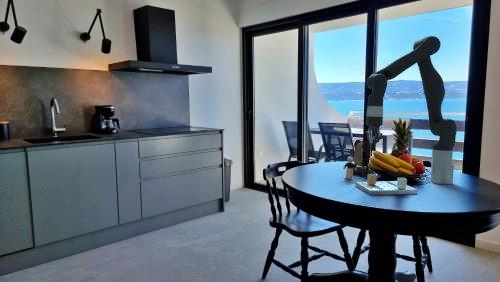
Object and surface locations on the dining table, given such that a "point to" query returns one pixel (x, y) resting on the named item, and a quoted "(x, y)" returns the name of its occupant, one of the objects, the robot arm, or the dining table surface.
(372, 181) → the fader
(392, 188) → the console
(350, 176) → the grandmother figurine
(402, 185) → the fader
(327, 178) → the dining table surface
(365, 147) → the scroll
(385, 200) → the dining table surface
